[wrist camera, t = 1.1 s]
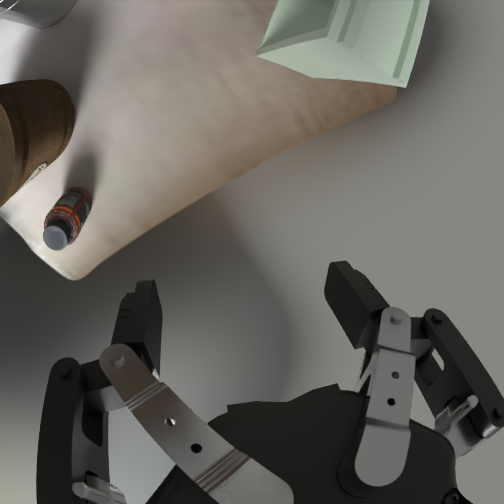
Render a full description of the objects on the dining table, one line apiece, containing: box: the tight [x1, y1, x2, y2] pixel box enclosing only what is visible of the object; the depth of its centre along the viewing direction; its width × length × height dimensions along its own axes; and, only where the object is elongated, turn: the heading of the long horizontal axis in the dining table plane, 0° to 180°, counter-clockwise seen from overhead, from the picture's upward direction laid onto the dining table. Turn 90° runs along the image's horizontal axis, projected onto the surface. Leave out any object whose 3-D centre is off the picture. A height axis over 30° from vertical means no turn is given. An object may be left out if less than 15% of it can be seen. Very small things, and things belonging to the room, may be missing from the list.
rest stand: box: [256, 0, 429, 87], centre depth 22 cm, size 10×16×22 cm, turn 161°
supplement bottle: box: [43, 188, 91, 251], centre depth 33 cm, size 6×6×11 cm
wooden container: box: [0, 79, 74, 207], centre depth 19 cm, size 15×15×22 cm
